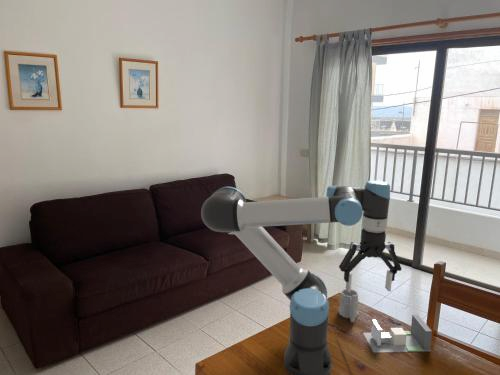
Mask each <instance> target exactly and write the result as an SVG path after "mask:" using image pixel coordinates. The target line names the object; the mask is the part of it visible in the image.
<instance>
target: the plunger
mask: <svg viewBox="0 0 500 375" xmlns="http://www.w3.org/2000/svg"><path fill="white" fill-rule="evenodd" d="M382 332H384V333H382ZM370 333H371V336H372V338H373V340H374V341H375V343H376V345H377V346H381V343H391V336H390V335H389V333H388V331H386V332H385V331H383V329H382V328H381V326H380V325H379V323H378V321H377V320H376V319H372V320H371V330H370Z"/></svg>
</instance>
